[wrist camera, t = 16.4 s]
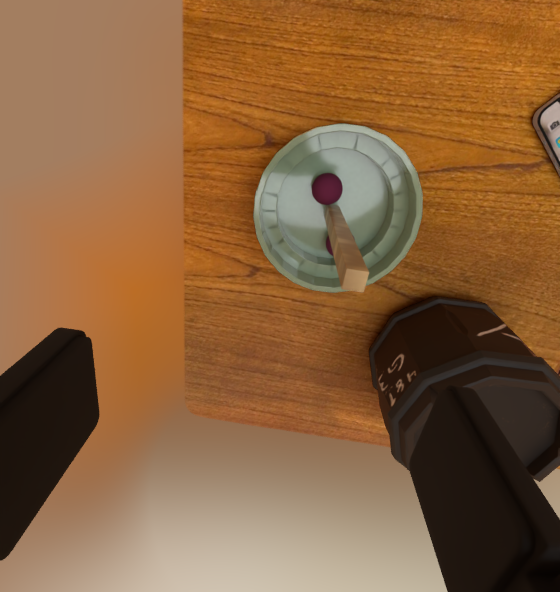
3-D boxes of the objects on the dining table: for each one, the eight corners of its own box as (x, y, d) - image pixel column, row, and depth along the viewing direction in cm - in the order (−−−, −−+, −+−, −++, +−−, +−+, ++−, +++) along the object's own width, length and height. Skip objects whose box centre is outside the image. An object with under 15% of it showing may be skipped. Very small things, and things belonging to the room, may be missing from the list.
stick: (323, 216, 40) (341, 289, 22) (326, 203, 39) (346, 268, 21) (336, 218, 40) (363, 293, 22) (338, 205, 39) (369, 271, 21)
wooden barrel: (504, 394, 50) (584, 500, 36) (373, 408, 52) (400, 513, 38) (513, 276, 42) (618, 351, 28) (360, 299, 45) (388, 379, 31)
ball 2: (327, 231, 41) (316, 251, 40) (341, 218, 39) (329, 239, 37) (349, 246, 42) (339, 267, 41) (364, 235, 39) (354, 256, 38)
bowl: (230, 191, 40) (219, 201, 35) (352, 87, 35) (361, 80, 30) (316, 295, 45) (317, 318, 40) (433, 217, 40) (453, 231, 35)
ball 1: (300, 189, 38) (317, 206, 36) (318, 162, 36) (336, 178, 34) (319, 198, 40) (335, 214, 38) (336, 173, 38) (354, 188, 37)
